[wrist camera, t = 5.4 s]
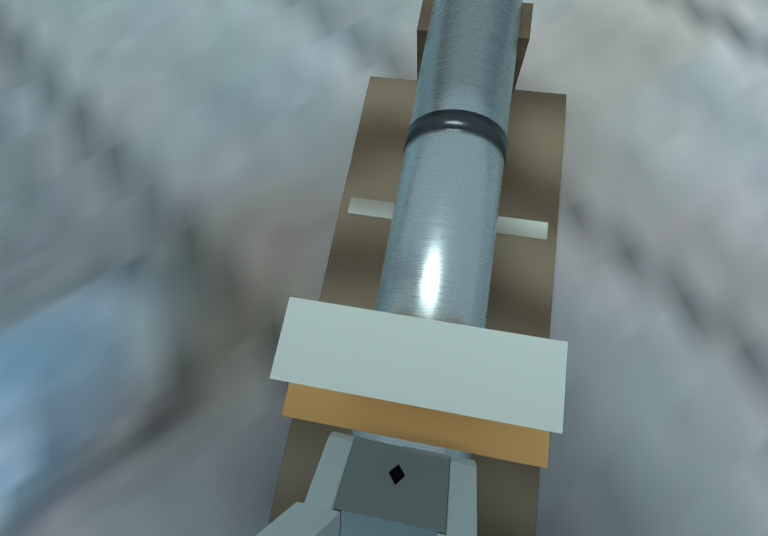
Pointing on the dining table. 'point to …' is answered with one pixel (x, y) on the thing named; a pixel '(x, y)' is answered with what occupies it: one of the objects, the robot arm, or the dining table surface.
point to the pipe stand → (509, 269)
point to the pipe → (452, 172)
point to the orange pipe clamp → (422, 380)
